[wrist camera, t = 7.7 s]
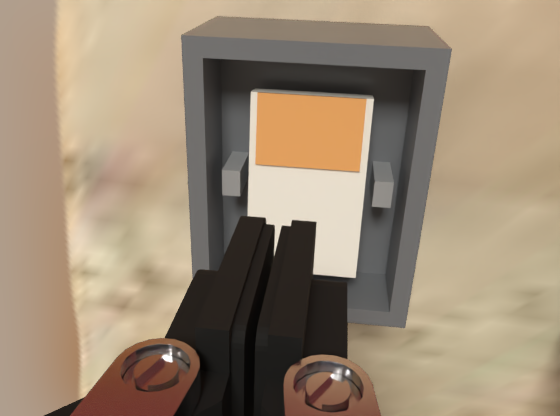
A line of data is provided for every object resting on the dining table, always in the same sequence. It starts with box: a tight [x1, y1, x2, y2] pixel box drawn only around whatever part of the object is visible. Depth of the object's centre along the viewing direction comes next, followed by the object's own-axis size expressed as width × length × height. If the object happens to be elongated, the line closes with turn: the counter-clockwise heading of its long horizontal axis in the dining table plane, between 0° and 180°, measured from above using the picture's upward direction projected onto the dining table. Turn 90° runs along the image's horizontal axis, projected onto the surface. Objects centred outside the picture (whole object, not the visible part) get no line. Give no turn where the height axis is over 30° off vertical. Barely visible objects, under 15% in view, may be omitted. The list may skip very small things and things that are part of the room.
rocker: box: [248, 88, 374, 278], centre depth 24 cm, size 8×5×1 cm, turn 178°
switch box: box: [181, 16, 452, 328], centre depth 25 cm, size 13×10×6 cm
